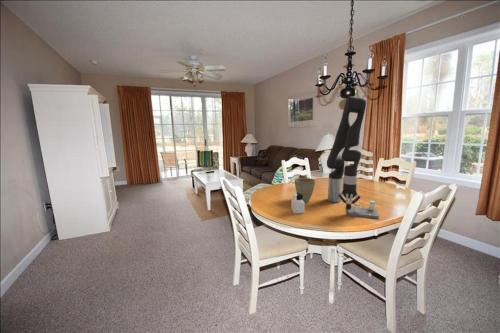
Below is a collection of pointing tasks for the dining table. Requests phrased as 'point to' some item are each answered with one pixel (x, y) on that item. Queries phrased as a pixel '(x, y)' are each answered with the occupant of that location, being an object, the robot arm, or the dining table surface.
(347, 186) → the robot arm
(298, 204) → the medicine bottle
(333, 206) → the dining table surface
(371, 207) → the block
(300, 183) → the plant pot
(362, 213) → the console
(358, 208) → the fader
